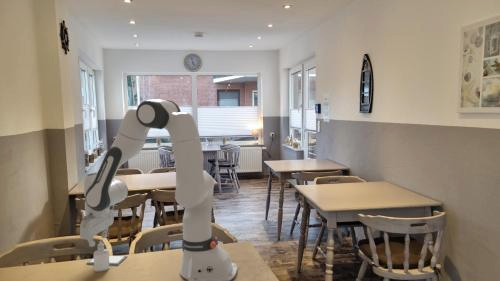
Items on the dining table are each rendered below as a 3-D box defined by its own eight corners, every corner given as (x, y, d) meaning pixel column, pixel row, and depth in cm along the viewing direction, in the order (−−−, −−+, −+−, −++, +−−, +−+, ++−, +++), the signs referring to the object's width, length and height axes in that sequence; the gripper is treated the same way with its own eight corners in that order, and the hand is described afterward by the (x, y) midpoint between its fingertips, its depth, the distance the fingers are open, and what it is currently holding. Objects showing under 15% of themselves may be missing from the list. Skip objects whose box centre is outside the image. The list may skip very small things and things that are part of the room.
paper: (124, 256, 149) (124, 256, 149) (117, 263, 143) (117, 262, 143) (98, 255, 151) (97, 255, 151) (89, 262, 144) (89, 261, 144)
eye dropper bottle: (105, 272, 136) (104, 243, 135) (92, 271, 137) (90, 242, 136) (111, 267, 140) (110, 239, 139) (98, 266, 141) (97, 238, 140)
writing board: (127, 257, 150) (127, 256, 150) (118, 265, 142) (118, 264, 142) (97, 256, 152) (97, 255, 151) (86, 264, 144) (86, 263, 144)
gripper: (89, 217, 134) (91, 251, 135) (115, 203, 154) (117, 233, 155) (74, 217, 134) (76, 251, 135) (102, 203, 155) (104, 233, 156)
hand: (98, 241), depth 145 cm, fingers open, 8 cm apart
